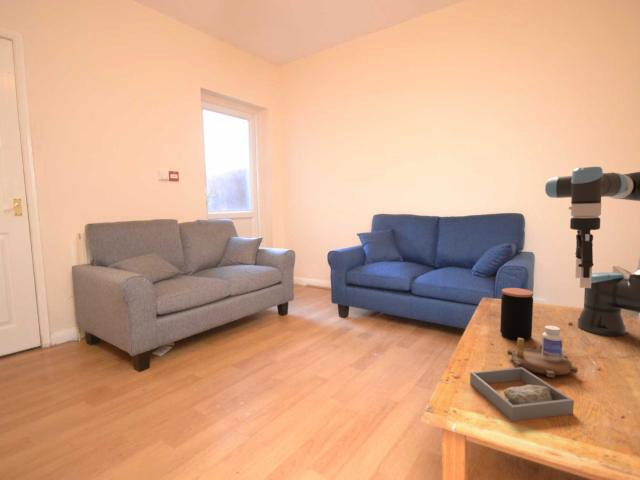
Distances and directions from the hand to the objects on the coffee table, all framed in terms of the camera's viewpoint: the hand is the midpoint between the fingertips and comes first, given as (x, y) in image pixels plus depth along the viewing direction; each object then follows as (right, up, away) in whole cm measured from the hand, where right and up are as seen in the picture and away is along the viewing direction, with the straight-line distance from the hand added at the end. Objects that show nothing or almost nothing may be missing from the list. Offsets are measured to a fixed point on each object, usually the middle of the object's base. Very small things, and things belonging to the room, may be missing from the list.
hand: (582, 282), depth 111 cm
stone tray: (-32, -29, -18) cm, 47 cm away
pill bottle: (-11, -24, -1) cm, 26 cm away
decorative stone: (-30, -29, -21) cm, 47 cm away
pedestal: (-15, -27, -2) cm, 31 cm away
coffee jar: (-8, -24, +23) cm, 34 cm away
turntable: (-15, -25, -2) cm, 29 cm away
